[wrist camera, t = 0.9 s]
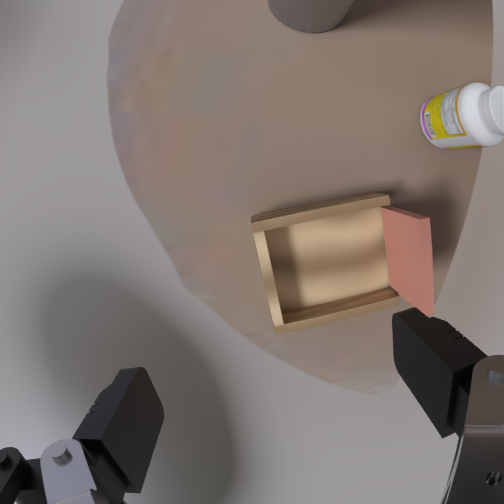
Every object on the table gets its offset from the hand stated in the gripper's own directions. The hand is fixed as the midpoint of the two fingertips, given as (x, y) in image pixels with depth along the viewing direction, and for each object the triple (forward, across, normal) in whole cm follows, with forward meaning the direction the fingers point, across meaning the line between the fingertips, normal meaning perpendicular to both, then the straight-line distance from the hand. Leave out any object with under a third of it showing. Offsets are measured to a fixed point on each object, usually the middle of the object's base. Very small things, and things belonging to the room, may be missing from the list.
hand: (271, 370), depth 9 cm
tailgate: (+24, -14, +5) cm, 29 cm away
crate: (+27, -7, +4) cm, 28 cm away
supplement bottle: (+26, -25, -8) cm, 37 cm away
